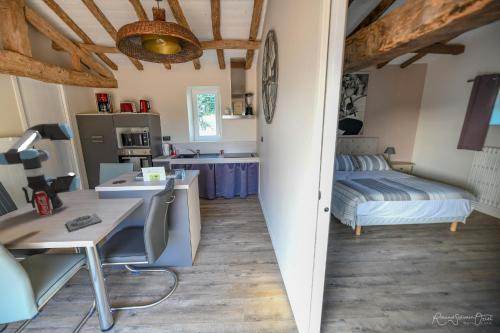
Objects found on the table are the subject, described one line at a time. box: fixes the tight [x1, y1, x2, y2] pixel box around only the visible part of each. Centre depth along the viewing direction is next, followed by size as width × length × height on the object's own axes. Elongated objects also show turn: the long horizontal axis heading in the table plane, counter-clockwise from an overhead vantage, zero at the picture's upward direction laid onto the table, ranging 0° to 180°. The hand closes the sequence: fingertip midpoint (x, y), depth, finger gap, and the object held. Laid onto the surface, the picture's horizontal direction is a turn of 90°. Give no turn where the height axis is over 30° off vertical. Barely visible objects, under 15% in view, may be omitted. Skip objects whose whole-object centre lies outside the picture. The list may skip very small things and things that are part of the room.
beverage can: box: [34, 191, 53, 217], centre depth 127 cm, size 6×6×15 cm
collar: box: [72, 214, 94, 225], centre depth 133 cm, size 10×10×2 cm
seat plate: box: [65, 213, 103, 232], centre depth 133 cm, size 16×16×1 cm
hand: (45, 210), depth 128 cm, fingers closed on beverage can, 6 cm apart
